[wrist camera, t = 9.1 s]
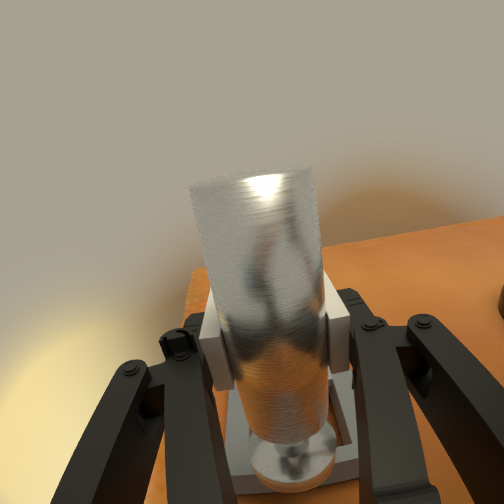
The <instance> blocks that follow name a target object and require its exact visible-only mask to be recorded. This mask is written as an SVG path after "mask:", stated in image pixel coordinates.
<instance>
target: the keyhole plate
mask: <svg viewBox="0 0 504 504" xmlns="http://www.w3.org/2000/svg"><path fill="white" fill-rule="evenodd" d="M328 391H329V395H330V398H331V402H332V405H333V409H334V413H335V416H336V420H337V424H338V427H339V431H340V435H341V438H342V442H343V446H340V447H336V460H335V465H334V468H333V470H332V472H331V474H330V475H329V476H328V478H327V479H326V480H325V481H324V482H322V483H321V484H320V485H318V486H322V485H328V484H333V483H337V482H342V481H347V480H351V479H355V478H359V459H358V439H357V424H356V411H355V399H354V389H353V390H352V372H351V369H350V367H349V371H345V372H340V373H336V374H331V372H330V369H329V366H328ZM251 434H252V431H251V429H250V428H249V425H248V423H247V420H246V416H245V413H244V410H243V406H242V403H241V399H240V396H239V392H238V389H237V386H236V382H235V383H234V390H229V396H228V409H227V422H226V435H225V452H226V457H227V461H228V466H229V470H230V475H231V479H232V483H233V487H234V492H235V495H239V494H259V493H271V492H278V491H275V490H272V489H270V488H268V487H266V486H265V485H264V484H262V483H261V482H260V481H259V479H258V478H257V476H256V475H255V472H254V470H253V467H252V465H251V462H250V459H249V456H248V452H247V445H248V441H249V438H250V436H251ZM316 487H317V486H316Z"/></svg>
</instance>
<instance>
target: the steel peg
mask: <svg viewBox="0 0 504 504" xmlns="http://www.w3.org/2000/svg"><path fill="white" fill-rule="evenodd" d="M189 191H190V196H191V201H192V206H193V210H194V215H195V220H196V225H197V229H198V234H199V239H200V243H201V248H202V252H203V256H204V261H205V265H206V269H207V274H208V278H209V282H210V286H211V290H212V295H213V299H214V303H215V307H216V311H217V315H218V319H219V323H220V326H221V330H222V334H223V338H224V342H225V346H226V349H227V353H228V357H229V360H230V364H231V368H232V371H233V375H234V378H235V382H236V386H237V389H238V392H239V396H240V399H241V403H242V406H243V410H244V413H245V416H246V420H247V423H248V425H249V428H250V429H251V431H252V434H251V436H250V438H249V441H248V445H247V452H248V456H249V459H250V462H251V465H252V467H253V470H254V472H255V475H256V476H257V478H258V479H259V481H260V482H261V483H262V484H264V485H265V486H266V487H268V488H270V489H272V490H275V491H278V492H282V493H299V492H304V491H307V490H310V489H312V488H315V487H316V486H318V485H320V484H321V483H322V482H324V481H325V480H326V479H327V478H328V476H329V475H330V474H331V472H332V470H333V468H334V465H335V460H336V447H337V438H336V434H335V431H334V429H333V428H332V426H331V425H330V424H329V423H328V422H327V421H326V420H327V417H328V347H327V322H326V303H325V287H324V273H323V260H322V249H321V238H320V228H319V218H318V209H317V202H316V201H317V200H316V192H315V184H314V176H313V169H312V167H311V166H285V167H274V168H266V169H259V170H252V171H246V172H241V173H235V174H230V175H225V176H221V177H216V178H212V179H208V180H205V181H201V182H198V183H196V184H193V185H191V186H189Z"/></svg>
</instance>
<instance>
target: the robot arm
mask: <svg viewBox="0 0 504 504" xmlns="http://www.w3.org/2000/svg"><path fill="white" fill-rule="evenodd" d="M323 273H324V287H325V303H326V322H327V347H328V366H329V369H330V372H331V374H336V373H340V372H345V371H349V365H350V363H351V365H352V367H353V373H352V390H353V389H354V399H355V411H356V424H357V439H358V459H359V504H441V501H440V496H439V492H438V490H437V488H436V486H433V485H431V484H430V483H429V480H428V475H427V470H426V464H425V459H424V454H423V449H422V444H421V440H420V435H419V431H418V427H417V422H416V418H415V414H414V410H413V406H412V402H411V399H410V395H409V391H410V393H411V394H412V396H413V397H414V399H415V401H416V402H417V404H418V405H419V407H420V409H421V410H422V412H423V413H424V415H425V417H426V418H427V420H428V422H429V423H430V425H431V427H432V428H433V430H434V431H435V433H436V435H437V437H438V438H439V440H440V442H441V443H442V445H443V447H444V448H445V450H446V452H447V454H448V455H449V457H450V459H451V461H452V462H453V464H454V466H455V468H456V469H457V471H458V473H459V475H460V477H461V478H462V480H463V482H464V484H465V486H466V488H467V489H468V491H469V493H470V495H471V497H472V499H473V501H474V503H475V504H504V388H503V387H502V386H501V384H500V383H499V382H498V381H497V380H496V379H495V378H494V377H493V376H492V374H491V373H490V372H489V371H488V370H487V369H486V368H485V367H484V366H483V365H482V364H481V363H480V362H479V361H478V359H477V358H476V357H475V356H474V355H473V354H472V353H471V352H470V351H469V350H468V349H467V348H466V347H465V346H464V345H463V344H462V343H461V342H460V341H459V340H458V339H457V338H456V337H455V336H454V335H453V334H452V333H451V332H450V331H449V330H448V329H447V328H446V327H445V326H444V325H443V324H442V323H441V322H440V321H439V320H438V319H437V318H435V317H434V316H432V315H428V314H417V315H414V316H412V317H410V319H409V320H408V324H407V326H388V324H387V322H386V321H385V320H384V319H382V318H380V317H376V316H374V315H373V313H372V312H371V311H370V309H369V308H368V306H367V305H366V303H364V301H363V299H361V296H360V295H359V294H358V292H356V291H355V290H353V289H351V288H347V289H342V290H335V288H334V286H333V285H332V283H331V281H330V280H329V278H328V276H327V275H326V273H325V271H324V270H323ZM499 310H500V312H501V314H502V316H503V317H504V285H503V287H502V290H501V294H500V299H499ZM183 327H184V328H178V329H173V330H170V331H168V332H166V333H165V334H164V335H163V336H161V337H160V340H159V343H160V346H161V348H162V351H163V353H164V356H165V358H166V360H165V362H164V363H161V364H158V365H154V366H151V367H147V365H146V363H145V362H144V361H142V360H130V361H127V362H125V363H124V364H122V365H121V366H120V367H119V368H118V369H117V371H116V373H115V374H114V376H113V378H112V380H111V381H110V383H109V385H108V387H107V389H106V391H105V392H104V394H103V396H102V398H101V400H100V402H99V404H98V405H97V407H96V409H95V411H94V413H93V415H92V417H91V419H90V421H89V423H88V425H87V427H86V429H85V431H84V433H83V435H82V437H81V439H80V441H79V443H78V445H77V447H76V449H75V451H74V453H73V455H72V457H71V459H70V461H69V463H68V465H67V467H66V470H65V472H64V474H63V476H62V478H61V480H60V482H59V485H58V487H57V489H56V491H55V494H54V496H53V498H52V500H51V503H50V504H144V500H145V496H146V493H147V489H148V485H149V482H150V478H151V474H152V471H153V467H154V464H155V460H156V456H157V453H158V449H159V446H160V443H161V439H162V436H163V432H164V429H165V466H166V485H167V500H168V504H237V500H236V496H235V492H234V487H233V483H232V479H231V475H230V470H229V466H228V461H227V457H226V452H225V447H224V443H223V438H222V433H221V428H220V423H219V418H218V412H217V407H216V402H215V397H214V395H213V392H212V387H213V384H214V387H215V390H216V391H224V390H234V383H235V378H234V375H233V371H232V368H231V364H230V360H229V357H228V353H227V349H226V346H225V342H224V338H223V334H222V330H221V326H220V323H219V319H218V315H217V311H216V307H215V303H214V299H213V295H212V290H211V289H210V293H209V297H208V302H207V306H206V310H205V312H202V313H194V314H191V315H190V316H189V317H188V318H187V319H186V320H185V323H184V326H183ZM408 390H409V391H408Z"/></svg>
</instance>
